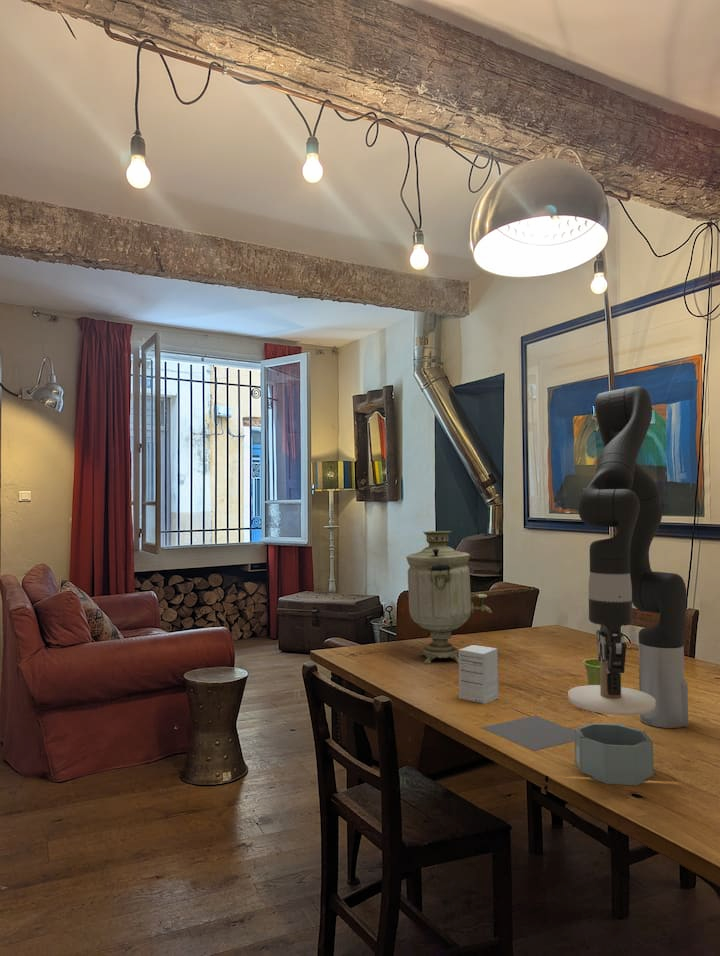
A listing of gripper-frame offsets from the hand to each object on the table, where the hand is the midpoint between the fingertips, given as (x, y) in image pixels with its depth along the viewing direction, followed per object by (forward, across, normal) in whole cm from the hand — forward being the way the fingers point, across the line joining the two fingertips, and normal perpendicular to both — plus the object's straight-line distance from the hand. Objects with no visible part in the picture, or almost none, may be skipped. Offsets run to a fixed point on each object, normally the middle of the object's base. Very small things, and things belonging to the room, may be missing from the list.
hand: (611, 690), depth 124 cm
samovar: (+14, +84, +31) cm, 91 cm away
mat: (+14, +18, +12) cm, 26 cm away
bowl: (+14, 0, 0) cm, 14 cm away
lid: (+2, 0, 0) cm, 2 cm away
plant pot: (+14, +48, -8) cm, 51 cm away
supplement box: (+15, +42, +23) cm, 50 cm away
